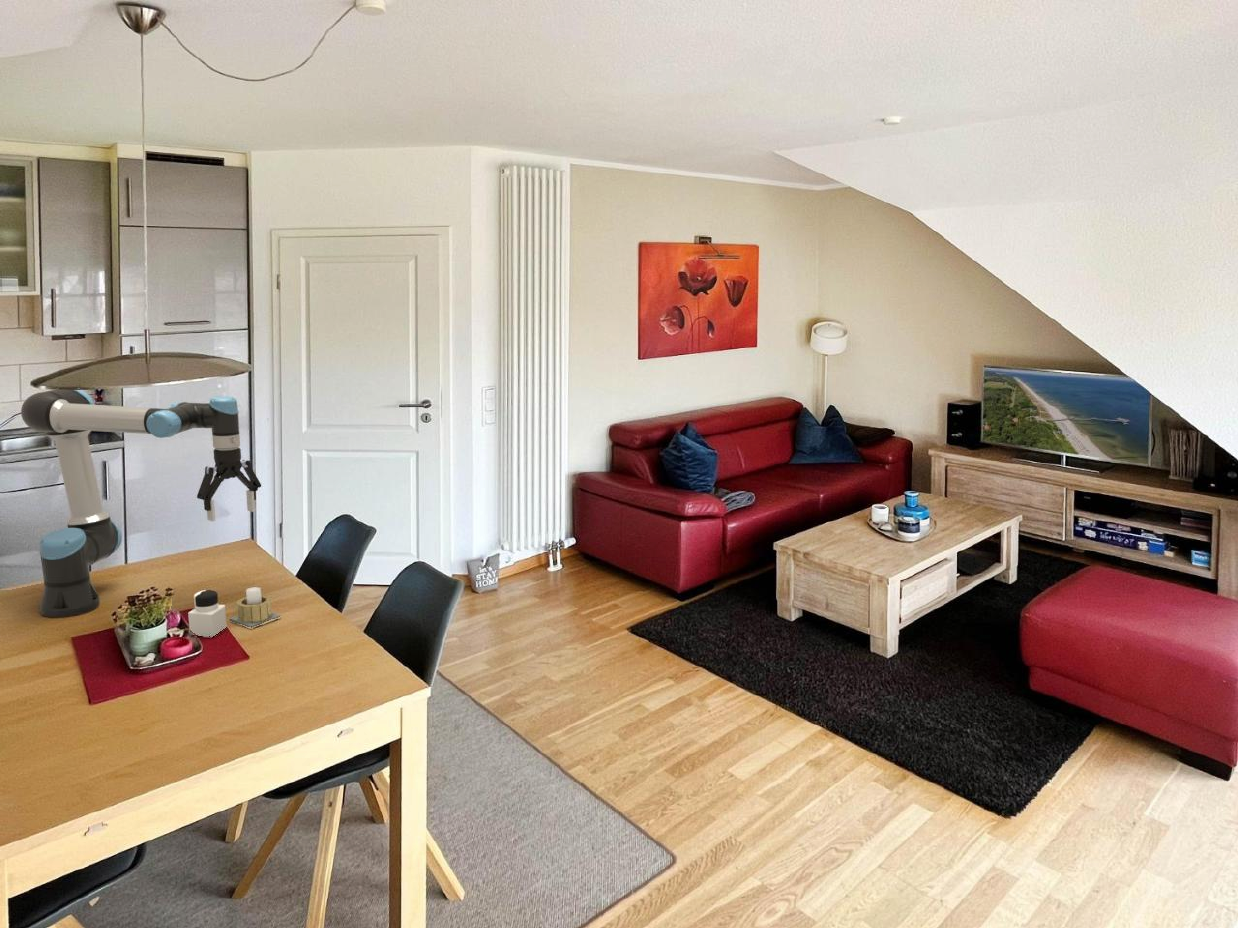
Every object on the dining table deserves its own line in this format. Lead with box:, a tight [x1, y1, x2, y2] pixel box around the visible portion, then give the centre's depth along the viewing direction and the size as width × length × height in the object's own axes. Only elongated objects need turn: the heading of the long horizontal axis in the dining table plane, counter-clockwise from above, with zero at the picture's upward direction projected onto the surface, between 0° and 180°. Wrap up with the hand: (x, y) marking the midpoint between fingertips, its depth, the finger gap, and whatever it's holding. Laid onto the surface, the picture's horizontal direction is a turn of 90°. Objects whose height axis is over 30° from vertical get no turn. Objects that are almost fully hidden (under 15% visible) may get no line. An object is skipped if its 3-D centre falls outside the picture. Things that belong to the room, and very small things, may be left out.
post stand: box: [229, 586, 282, 628], centre depth 257 cm, size 10×10×10 cm
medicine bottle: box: [187, 589, 228, 638], centre depth 248 cm, size 7×7×12 cm
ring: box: [236, 594, 273, 623], centre depth 257 cm, size 9×9×5 cm
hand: (231, 515), depth 269 cm, fingers open, 13 cm apart
